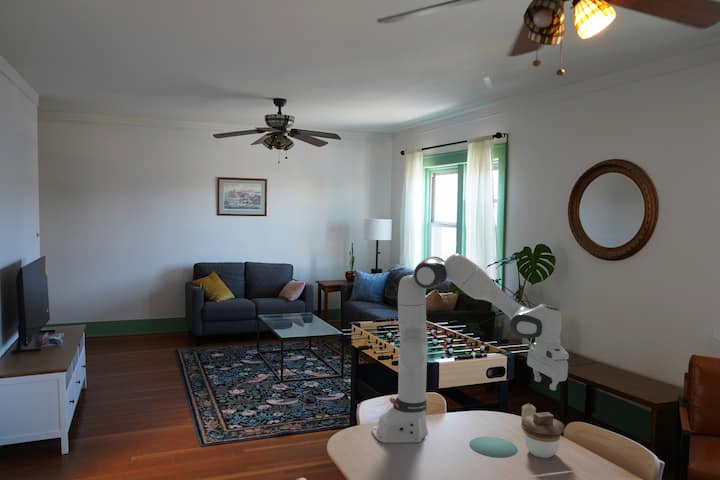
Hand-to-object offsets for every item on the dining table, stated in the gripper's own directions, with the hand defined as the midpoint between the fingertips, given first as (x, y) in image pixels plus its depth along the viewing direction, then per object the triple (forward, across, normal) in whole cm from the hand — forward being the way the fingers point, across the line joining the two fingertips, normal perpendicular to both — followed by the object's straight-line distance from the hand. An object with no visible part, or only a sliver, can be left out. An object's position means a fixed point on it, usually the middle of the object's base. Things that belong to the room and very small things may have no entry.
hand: (545, 385), depth 207 cm
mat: (+27, -9, -15) cm, 32 cm away
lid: (+16, 0, 0) cm, 16 cm away
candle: (+27, -23, +9) cm, 36 cm away
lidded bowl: (+27, 0, 0) cm, 27 cm away
